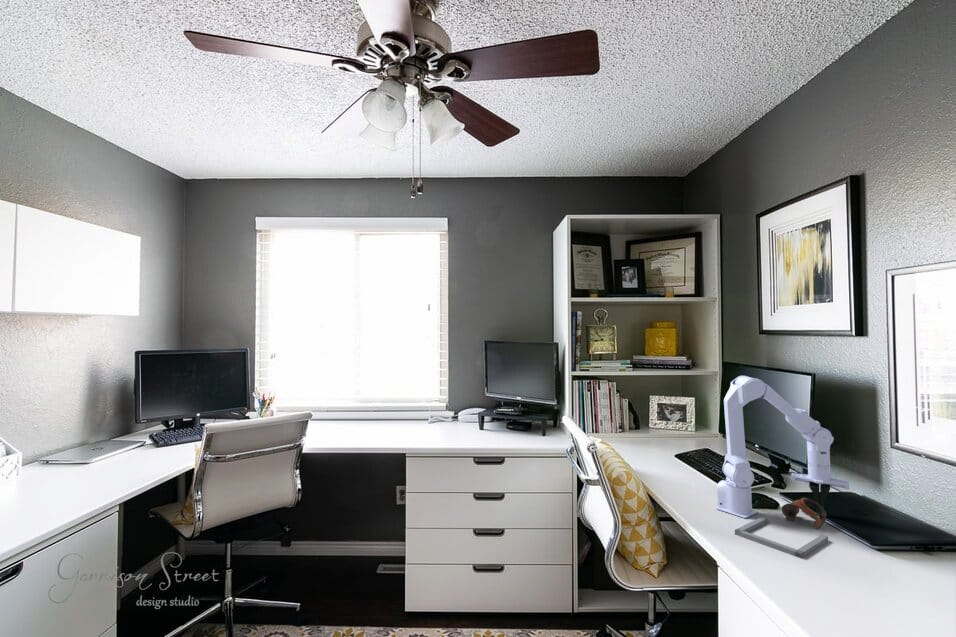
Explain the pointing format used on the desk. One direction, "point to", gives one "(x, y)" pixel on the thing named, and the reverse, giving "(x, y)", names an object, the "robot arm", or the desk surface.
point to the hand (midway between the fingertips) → (820, 507)
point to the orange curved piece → (805, 511)
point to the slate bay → (799, 553)
